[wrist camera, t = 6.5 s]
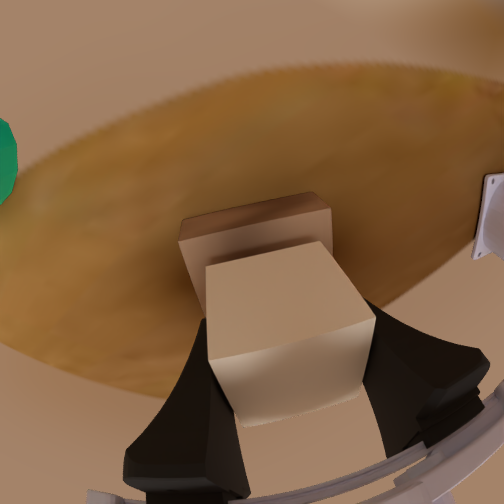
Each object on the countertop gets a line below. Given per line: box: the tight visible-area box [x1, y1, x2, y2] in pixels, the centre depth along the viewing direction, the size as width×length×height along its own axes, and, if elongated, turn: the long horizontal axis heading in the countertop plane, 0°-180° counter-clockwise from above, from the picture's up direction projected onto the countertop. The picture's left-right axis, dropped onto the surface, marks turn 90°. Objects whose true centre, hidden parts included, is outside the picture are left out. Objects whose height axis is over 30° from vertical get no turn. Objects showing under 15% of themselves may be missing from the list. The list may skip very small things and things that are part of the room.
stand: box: [178, 192, 333, 318], centre depth 15 cm, size 7×7×2 cm
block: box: [206, 241, 376, 428], centre depth 11 cm, size 5×5×5 cm
